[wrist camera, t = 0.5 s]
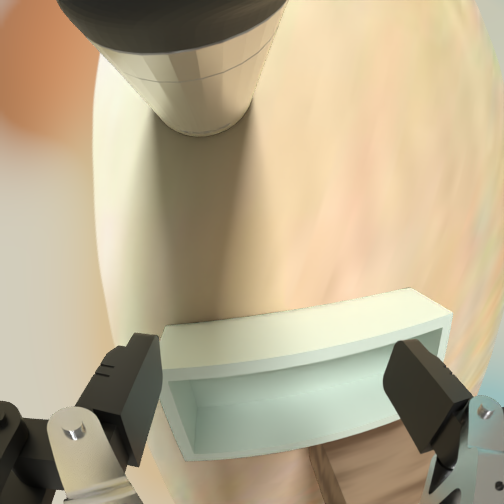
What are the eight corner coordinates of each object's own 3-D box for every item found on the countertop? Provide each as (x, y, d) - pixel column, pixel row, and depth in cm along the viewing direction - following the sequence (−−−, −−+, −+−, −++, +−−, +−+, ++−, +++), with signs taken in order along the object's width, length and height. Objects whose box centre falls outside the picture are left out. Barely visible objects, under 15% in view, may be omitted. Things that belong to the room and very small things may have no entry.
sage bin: (165, 325, 28) (149, 369, 20) (409, 287, 30) (453, 312, 22) (189, 411, 31) (185, 461, 23) (399, 371, 33) (430, 406, 25)
